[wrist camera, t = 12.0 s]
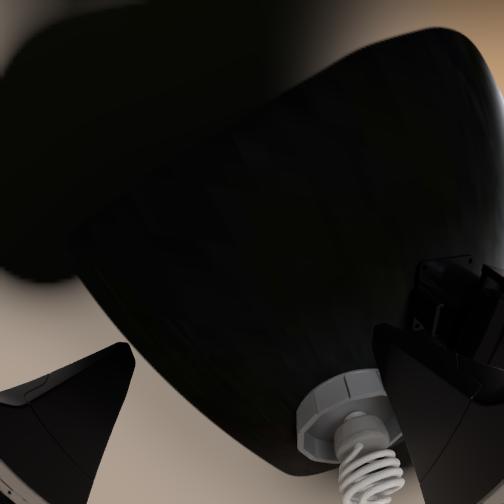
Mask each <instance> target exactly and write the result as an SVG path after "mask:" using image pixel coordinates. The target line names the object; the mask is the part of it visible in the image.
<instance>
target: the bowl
mask: <svg viewBox="0 0 504 504" xmlns="http://www.w3.org/2000/svg"><path fill="white" fill-rule="evenodd" d="M356 411H362V412H365V413H366V415H374V416H377V417H379V418H380V419H382V421H383V423H384V425H385V427H386V429H387V431H388V433H389V438H390V440H389V445H388V446H391V445H392V444H393V443H394V442H395V441H396V440H397V439H399V438H400V437H401V436H402V432H401V429H400V427H399V424H398V422H397V419H396V416H395V414H394V411H393V409H392V406H391V404H390V401H389V399H388V397H387V394H386V392H385V389H384V387H383V384H382V381H381V377H380V374H379V370H378V369H377V368H364V369H357V370H352V371H348V372H345V373H342V374H339V375H336V376H334V377H332V378H330V379H328V380H326V381H324V382H322V383H321V384H319V385H318V386H316V387H315V388H314V389H313V390H311V391H310V392H309V393H308V394H307V395H306V396H305V397H304V399H303V400H302V401H301V403H300V405H299V407H298V409H297V411H296V420H297V448H298V450H299V451H300V452H301V453H303V454H304V455H305V456H307V457H308V458H309V459H311V460H313V461H318V462H325V463H333V464H336V463H337V464H339V463H342V462H341V461H339V460H338V459H337V457H336V453H335V447H334V434H335V432H336V430H337V429H338V428H339V427H340V426H341V425H342V424H343V423H344V420H345V418H346V417H347V416H348V415H349V414H350V413H352V412H356ZM388 446H387V448H388Z"/></svg>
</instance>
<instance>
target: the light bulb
mask: <svg viewBox="0 0 504 504" xmlns="http://www.w3.org/2000/svg"><path fill="white" fill-rule="evenodd" d="M389 440H390V438H389V433H388V431H387V429H386V427H385V425H384V423H383V421H382V419H380V418H379V417H377V416H374V415H366V413H365V412H362V411H356V412H352V413H350V414H349V415H348V416H347V417H346V418H345V420H344V423H343V424H342V425H341V426H340V427H339V428H338V429H337V430H336V432H335V434H334V447H335V453H336V457H337V459H338V460H339V461H341V462H342V463H341V465H340V467H339V478H338V483H339V485H340V488H339V492H340V494H341V495H342V502H343V504H388V503H390V502H391V500H392V499H391V497H384V498H381V499H377V500H373V501H367V500H370V499H375V498H380V497H383V496H386V495H389V494H391V493H393V492H395V491H397V490H399V489H400V488H402V487H403V485H404V483H405V480H404V479H403V478H400V477H401V476H402V474H403V470H402V469H401V468H398V467H399V465H400V461H399V460H398V459H397V458H395V452H394V451H392V450H389V449H386V448H387V446H388V445H389ZM384 456H387V457H386V458H384V459H382V460H376V458H379V457H384ZM366 462H368V463H370V464H368V465H366V466H364V467H362V468H360V469H358V470H356V471H355V472H353V473H352V474H350V472H352V471H353V470H354V469H356V468H357V467H359V466H361V465H362V464H364V463H366ZM348 464H349V465H348ZM386 466H389V467H388V468H386V469H384V470H382V471H379V472H376V473H373V474H368V475H365V474H367V473H369V472H371V471H374V470H376V469H378V468H382V467H386ZM390 476H391V477H390ZM386 477H389V478H387V479H384V480H382V481H379V482H376V481H378V480H380V479H383V478H386ZM353 482H356V483H355V484H352V483H353ZM373 482H376V483H373ZM360 491H364V492H363V493H362V494H356V492H360ZM351 500H358V502H359V503H356V502H353V501H351Z"/></svg>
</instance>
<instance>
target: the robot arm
mask: <svg viewBox="0 0 504 504" xmlns="http://www.w3.org/2000/svg"><path fill="white" fill-rule="evenodd" d="M469 259H470V261H469ZM473 264H474V257H473V256H471V255H461V256H453V257H446V258H438V259H429V260H422V261H421V262H419V264H418V271H417V282H416V287H415V290H414V299H413V307H412V314H413V315H412V321H411V328H412V329H413V330H414V331H417V330H422V329H426V330H427V331H428V332H429V333H430V335H431V336H432V337H437V338H438V339H439V341H440V342H441V343H442V344H443V345H444V346H445V348H446V349H445V348H443V347H441V346H438V345H436V344H433V343H431V342H429V341H426V340H424V339H422V338H419V337H417V336H415V335H412V334H410V333H408V332H405V331H403V330H401V329H398V328H396V327H394V326H391V325H389V324H387V323H383V324H378V325H375V327H374V332H373V343H372V349H373V353H374V357H375V360H376V363H377V367H378V370H379V374H380V377H381V381H382V384H383V387H384V389H385V392H386V394H387V397H388V399H389V401H390V404H391V406H392V409H393V411H394V414H395V416H396V419H397V422H398V424H399V427H400V429H401V432H402V435H403V437H404V440H405V443H406V445H407V448H408V451H409V454H410V457H411V459H412V462H413V465H414V468H415V471H416V474H417V477H418V480H419V483H420V487H421V490H422V494H423V497H424V501H425V504H504V270H502V269H499V268H496V267H493V266H489V265H486V264H483V267H482V270H481V271H482V274H481V277H479V276H478V275H476V274H474V273H472V272H473ZM423 265H425V267H424V269H422V267H423ZM416 324H417V326H415V325H416ZM449 349H451V350H449ZM134 368H135V358H134V356H133V353H132V351H131V348H130V345H129V344H128V343H126V342H118V343H115V344H113V345H111V346H109V347H107V348H104V349H102V350H100V351H98V352H96V353H94V354H91V355H89V356H87V357H85V358H83V359H80V360H78V361H76V362H74V363H72V364H69V365H67V366H65V367H63V368H60V369H58V370H56V371H54V372H51V373H50V374H47V375H45V376H42V377H40V378H37V379H35V380H32V381H30V382H27V383H24V384H22V385H19V386H16V387H13V388H11V389H7V390H4V391H1V392H0V504H87V501H88V498H89V494H90V491H91V488H92V485H93V481H94V479H95V476H96V473H97V470H98V467H99V464H100V462H101V459H102V456H103V453H104V451H105V448H106V445H107V443H108V440H109V437H110V435H111V432H112V429H113V427H114V424H115V422H116V420H117V417H118V415H119V412H120V410H121V407H122V405H123V402H124V400H125V397H126V394H127V391H128V388H129V385H130V381H131V378H132V375H133V372H134Z"/></svg>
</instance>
